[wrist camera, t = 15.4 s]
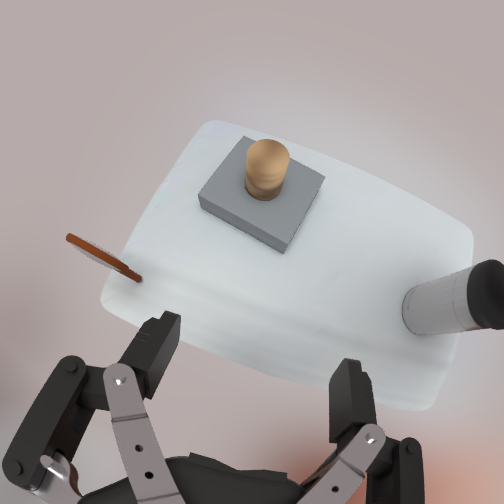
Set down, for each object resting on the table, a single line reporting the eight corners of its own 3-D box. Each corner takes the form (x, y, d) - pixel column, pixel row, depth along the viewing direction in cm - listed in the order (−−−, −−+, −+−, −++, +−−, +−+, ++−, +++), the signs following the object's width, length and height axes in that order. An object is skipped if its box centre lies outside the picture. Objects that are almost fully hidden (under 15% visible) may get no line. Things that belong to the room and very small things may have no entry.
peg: (284, 194, 49) (297, 150, 37) (268, 219, 48) (277, 180, 35) (255, 179, 50) (259, 133, 37) (238, 203, 48) (237, 161, 36)
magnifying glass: (164, 285, 44) (112, 250, 24) (159, 295, 43) (104, 266, 24) (122, 264, 44) (57, 221, 25) (118, 273, 44) (51, 234, 25)
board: (318, 190, 50) (325, 176, 45) (283, 253, 46) (288, 244, 41) (243, 152, 51) (243, 135, 47) (201, 208, 48) (197, 194, 43)
